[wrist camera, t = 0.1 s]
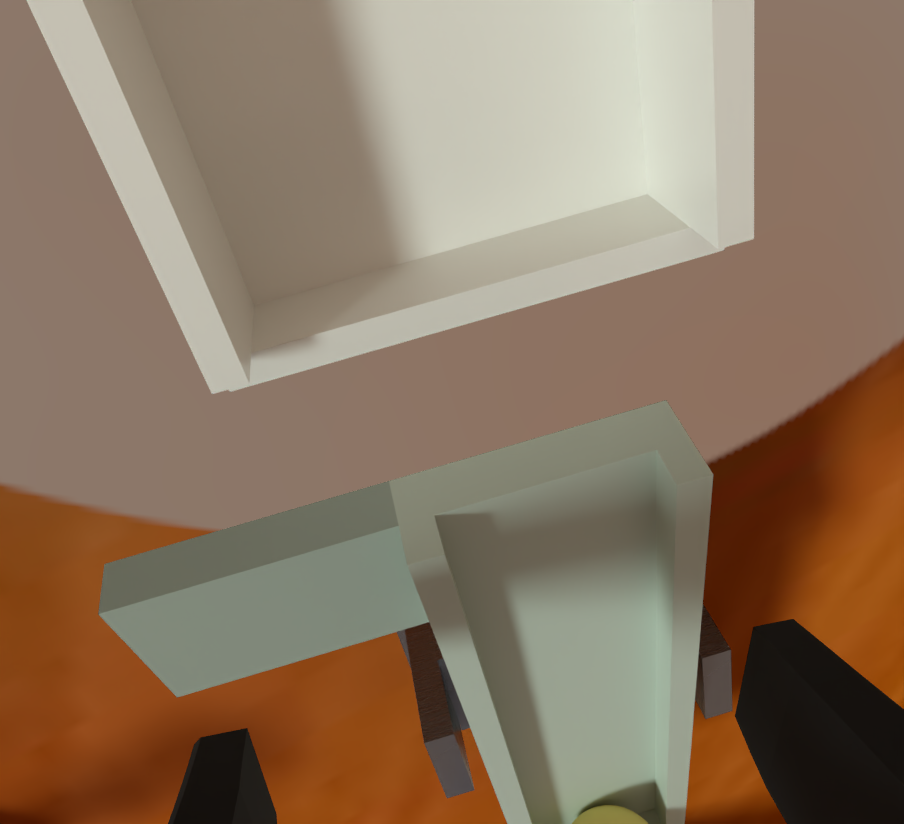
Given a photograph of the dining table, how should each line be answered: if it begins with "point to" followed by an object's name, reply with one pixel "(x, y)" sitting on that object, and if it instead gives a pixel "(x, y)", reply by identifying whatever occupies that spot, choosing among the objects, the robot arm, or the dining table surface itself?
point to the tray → (406, 157)
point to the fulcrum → (447, 715)
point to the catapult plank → (478, 604)
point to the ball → (609, 816)
